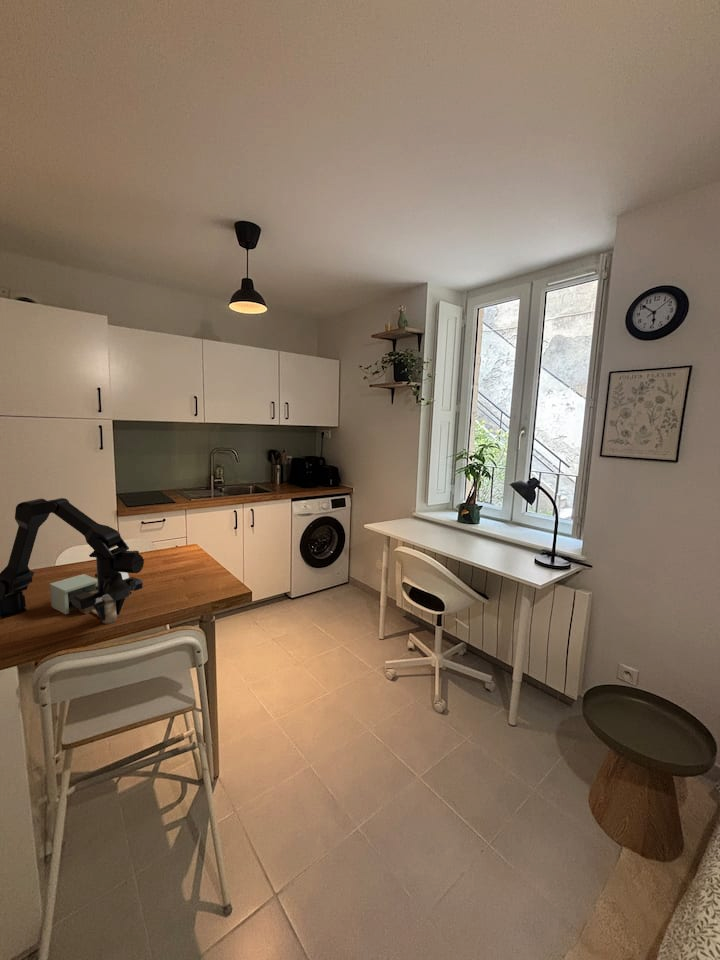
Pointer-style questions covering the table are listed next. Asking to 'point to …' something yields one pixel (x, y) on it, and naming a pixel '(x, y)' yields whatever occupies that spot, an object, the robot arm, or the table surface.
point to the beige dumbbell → (108, 608)
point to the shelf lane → (70, 590)
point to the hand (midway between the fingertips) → (110, 617)
